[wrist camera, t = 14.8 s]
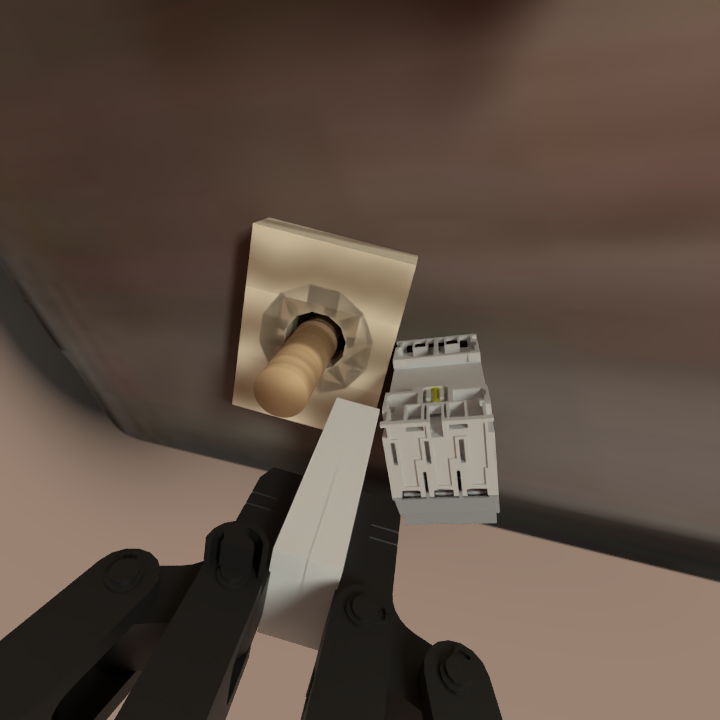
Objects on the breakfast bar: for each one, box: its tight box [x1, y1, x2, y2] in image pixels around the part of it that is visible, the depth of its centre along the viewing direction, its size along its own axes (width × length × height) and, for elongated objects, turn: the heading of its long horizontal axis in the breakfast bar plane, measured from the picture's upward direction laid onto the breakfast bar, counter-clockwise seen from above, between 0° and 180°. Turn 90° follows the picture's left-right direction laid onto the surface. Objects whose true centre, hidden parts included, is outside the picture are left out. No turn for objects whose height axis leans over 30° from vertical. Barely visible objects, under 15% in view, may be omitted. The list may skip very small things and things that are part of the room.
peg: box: [253, 313, 341, 418], centre depth 39 cm, size 4×4×14 cm
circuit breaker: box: [380, 334, 500, 525], centre depth 40 cm, size 8×14×15 cm, turn 10°
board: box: [232, 218, 418, 430], centre depth 43 cm, size 18×14×4 cm
